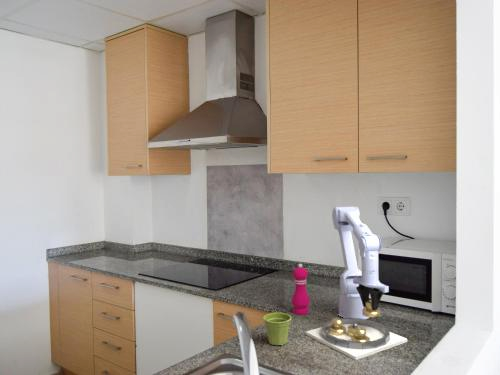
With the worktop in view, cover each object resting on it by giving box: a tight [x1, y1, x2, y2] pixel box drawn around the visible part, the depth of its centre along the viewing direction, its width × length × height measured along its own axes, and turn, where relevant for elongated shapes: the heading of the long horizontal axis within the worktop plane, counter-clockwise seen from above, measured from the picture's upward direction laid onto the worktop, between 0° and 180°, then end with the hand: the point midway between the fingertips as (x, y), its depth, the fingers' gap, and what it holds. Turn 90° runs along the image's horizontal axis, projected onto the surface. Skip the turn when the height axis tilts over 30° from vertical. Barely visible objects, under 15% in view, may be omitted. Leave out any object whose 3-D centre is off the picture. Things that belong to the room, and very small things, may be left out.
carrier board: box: [305, 324, 408, 361], centre depth 143 cm, size 24×24×1 cm
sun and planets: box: [329, 317, 370, 342], centre depth 142 cm, size 17×9×4 cm, turn 32°
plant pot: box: [263, 312, 292, 346], centre depth 141 cm, size 9×9×9 cm
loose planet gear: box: [362, 299, 381, 318], centre depth 147 cm, size 6×6×4 cm
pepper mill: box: [291, 263, 311, 316], centre depth 170 cm, size 7×7×20 cm
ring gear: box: [321, 317, 390, 349], centre depth 143 cm, size 22×22×2 cm
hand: (370, 308), depth 147 cm, fingers closed on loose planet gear, 4 cm apart
